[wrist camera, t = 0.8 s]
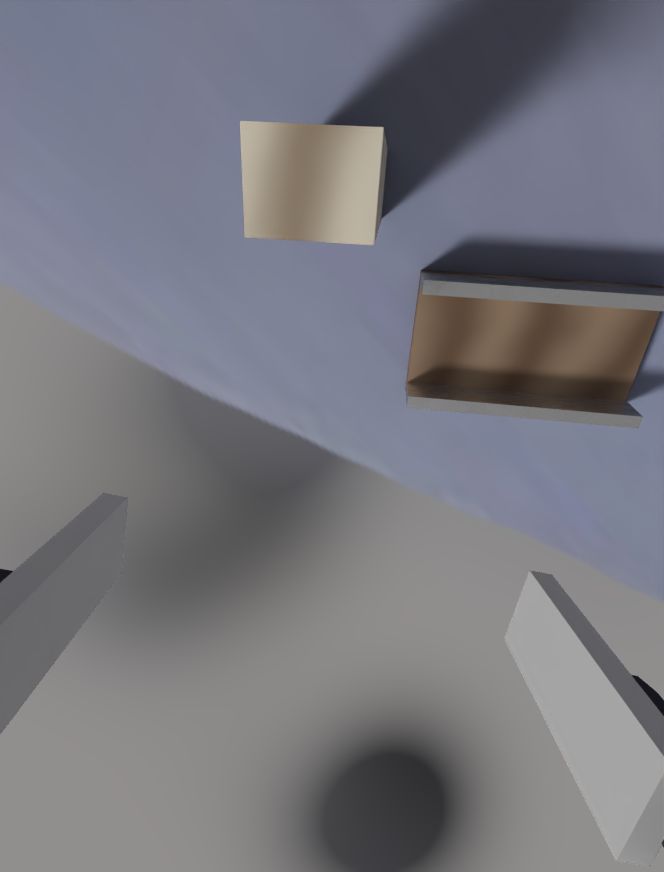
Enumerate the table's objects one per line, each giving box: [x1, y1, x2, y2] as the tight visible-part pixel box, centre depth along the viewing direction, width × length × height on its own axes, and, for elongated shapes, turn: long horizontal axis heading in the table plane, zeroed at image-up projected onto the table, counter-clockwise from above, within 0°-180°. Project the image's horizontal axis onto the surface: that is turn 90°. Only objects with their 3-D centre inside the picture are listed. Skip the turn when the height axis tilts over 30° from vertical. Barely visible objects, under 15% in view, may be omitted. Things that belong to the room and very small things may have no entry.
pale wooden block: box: [240, 121, 388, 245], centre depth 27 cm, size 6×4×16 cm
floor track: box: [406, 270, 664, 428], centre depth 37 cm, size 18×10×4 cm, turn 87°
